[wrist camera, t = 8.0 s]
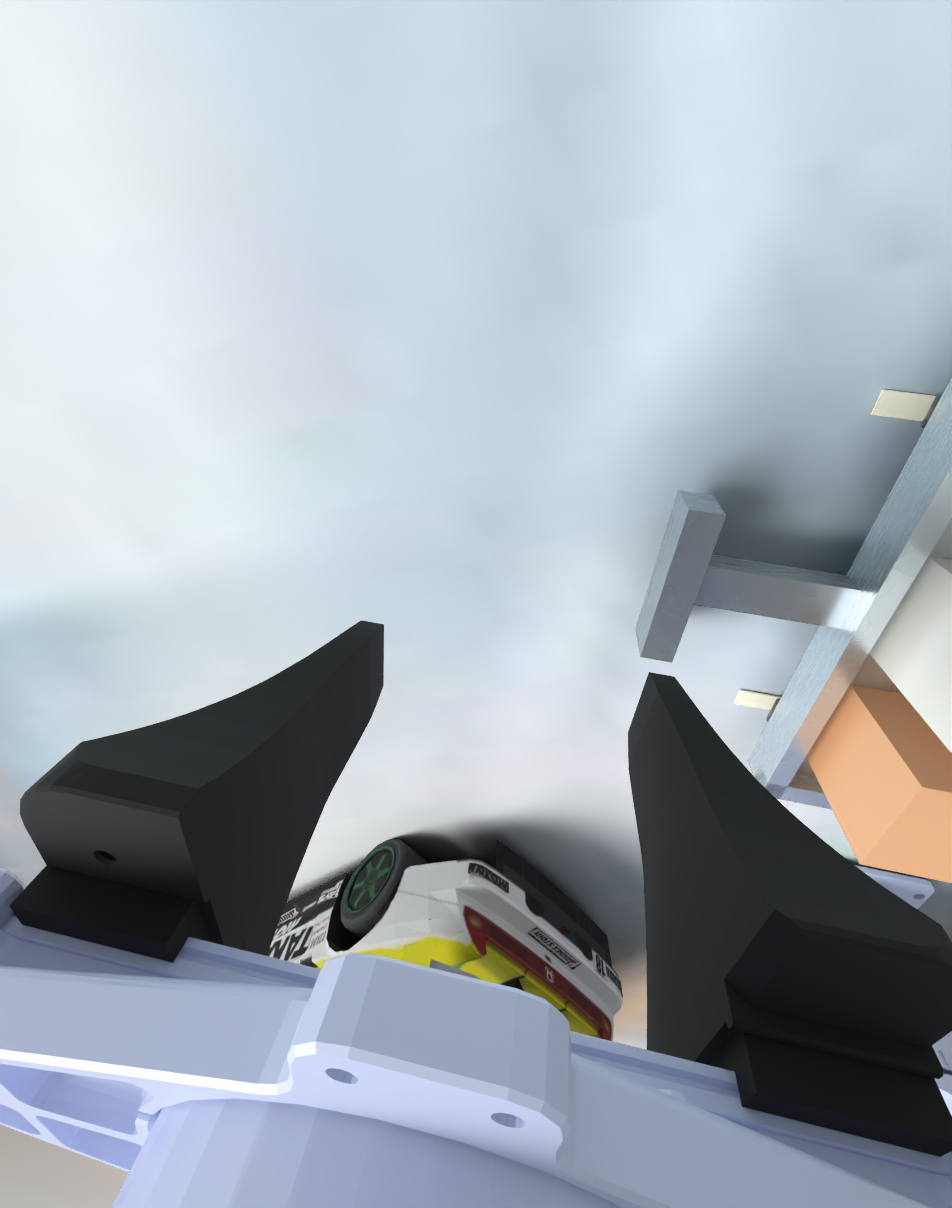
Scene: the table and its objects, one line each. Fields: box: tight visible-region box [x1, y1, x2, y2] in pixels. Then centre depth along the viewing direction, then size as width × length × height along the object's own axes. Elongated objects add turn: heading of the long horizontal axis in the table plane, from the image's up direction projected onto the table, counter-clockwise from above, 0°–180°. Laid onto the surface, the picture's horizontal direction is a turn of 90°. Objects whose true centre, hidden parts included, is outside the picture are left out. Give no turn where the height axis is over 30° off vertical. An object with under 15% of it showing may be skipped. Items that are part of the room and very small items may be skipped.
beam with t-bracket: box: [636, 377, 952, 809], centre depth 19 cm, size 18×14×3 cm
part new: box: [806, 684, 952, 883], centre depth 19 cm, size 4×4×5 cm
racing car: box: [267, 839, 623, 1041], centre depth 37 cm, size 17×39×12 cm, turn 132°
